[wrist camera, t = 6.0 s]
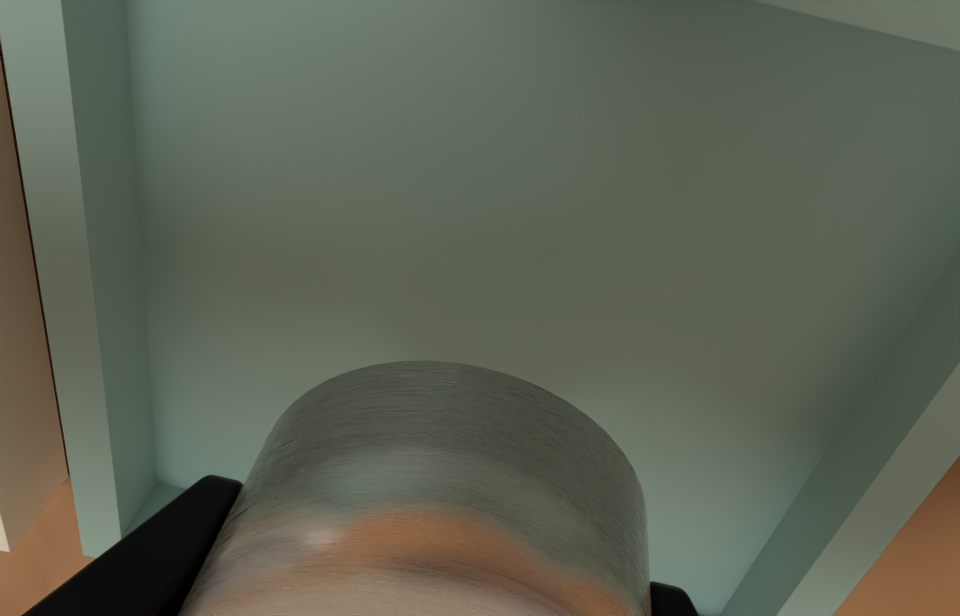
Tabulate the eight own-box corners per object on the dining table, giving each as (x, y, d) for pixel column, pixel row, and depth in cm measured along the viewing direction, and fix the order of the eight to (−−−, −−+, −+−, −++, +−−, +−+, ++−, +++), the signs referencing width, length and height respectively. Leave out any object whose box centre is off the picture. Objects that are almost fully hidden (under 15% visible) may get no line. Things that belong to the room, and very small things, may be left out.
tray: (737, 624, 17) (750, 718, 15) (135, 477, 17) (82, 555, 15) (1169, -13, 9) (1293, 37, 7) (67, -281, 9) (-53, -291, 7)
